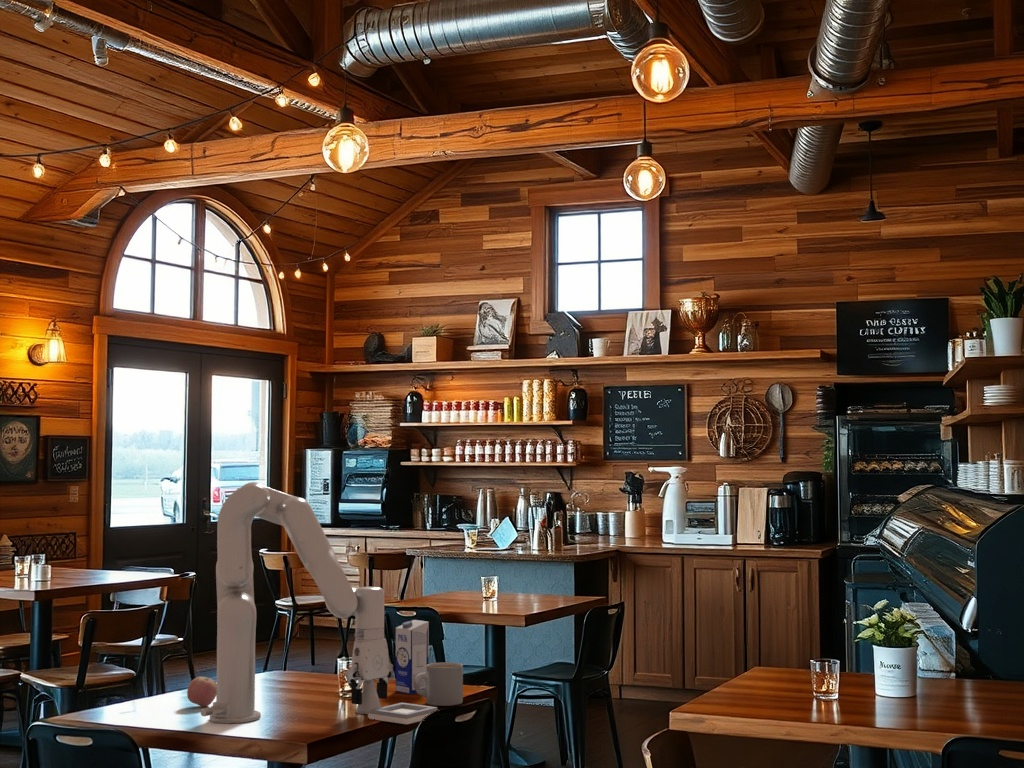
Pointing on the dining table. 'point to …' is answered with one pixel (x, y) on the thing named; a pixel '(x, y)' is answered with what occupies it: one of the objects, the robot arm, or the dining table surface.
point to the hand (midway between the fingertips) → (369, 701)
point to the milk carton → (411, 654)
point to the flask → (368, 698)
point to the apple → (202, 691)
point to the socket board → (401, 713)
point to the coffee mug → (442, 684)
